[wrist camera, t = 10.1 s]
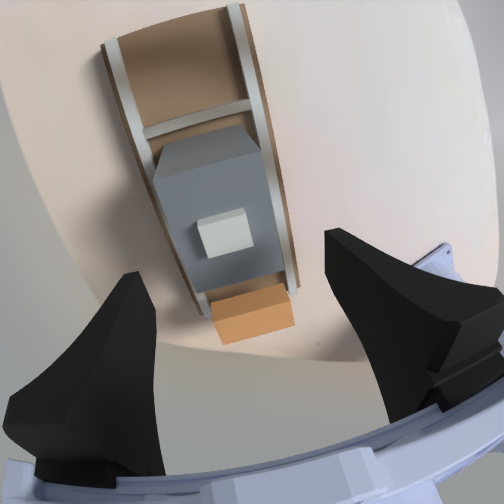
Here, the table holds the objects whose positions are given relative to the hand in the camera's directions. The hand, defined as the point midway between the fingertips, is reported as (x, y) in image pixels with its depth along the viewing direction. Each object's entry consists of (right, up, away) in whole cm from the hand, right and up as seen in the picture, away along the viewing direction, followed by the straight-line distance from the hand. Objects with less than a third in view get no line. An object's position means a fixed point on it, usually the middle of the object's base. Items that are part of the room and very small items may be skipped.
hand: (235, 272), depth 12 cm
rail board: (-2, +5, +7) cm, 9 cm away
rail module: (-2, +5, +7) cm, 8 cm away
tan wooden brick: (0, -3, +10) cm, 10 cm away
